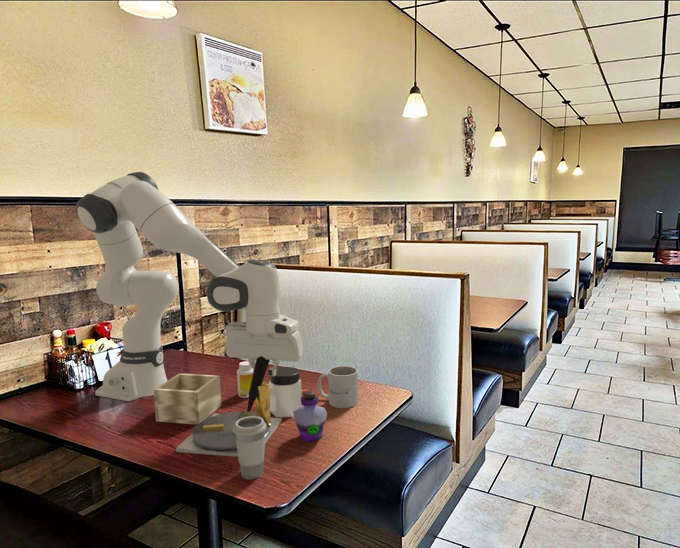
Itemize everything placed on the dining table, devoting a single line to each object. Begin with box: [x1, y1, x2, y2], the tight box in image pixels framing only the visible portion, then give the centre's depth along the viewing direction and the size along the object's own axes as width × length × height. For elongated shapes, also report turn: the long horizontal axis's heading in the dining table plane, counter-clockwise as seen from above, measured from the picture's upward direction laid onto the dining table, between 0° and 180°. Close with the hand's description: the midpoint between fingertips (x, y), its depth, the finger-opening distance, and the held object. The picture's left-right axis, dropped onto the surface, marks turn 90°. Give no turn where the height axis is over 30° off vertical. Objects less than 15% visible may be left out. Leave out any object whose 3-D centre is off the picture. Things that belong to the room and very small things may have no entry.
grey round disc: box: [192, 381, 272, 450], centre depth 121 cm, size 19×19×12 cm
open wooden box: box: [153, 373, 222, 426], centre depth 136 cm, size 13×13×9 cm
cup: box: [233, 416, 267, 480], centre depth 103 cm, size 7×7×12 cm
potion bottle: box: [293, 390, 328, 443], centre depth 119 cm, size 9×9×12 cm
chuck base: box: [175, 412, 283, 458], centre depth 122 cm, size 20×20×1 cm
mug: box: [317, 365, 359, 409], centre depth 141 cm, size 12×9×10 cm
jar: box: [268, 366, 303, 418], centre depth 135 cm, size 9×8×12 cm
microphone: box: [246, 356, 271, 412], centre depth 123 cm, size 6×6×20 cm
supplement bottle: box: [236, 360, 253, 399], centre depth 148 cm, size 6×6×10 cm
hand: (264, 374), depth 126 cm, fingers closed on microphone, 3 cm apart
